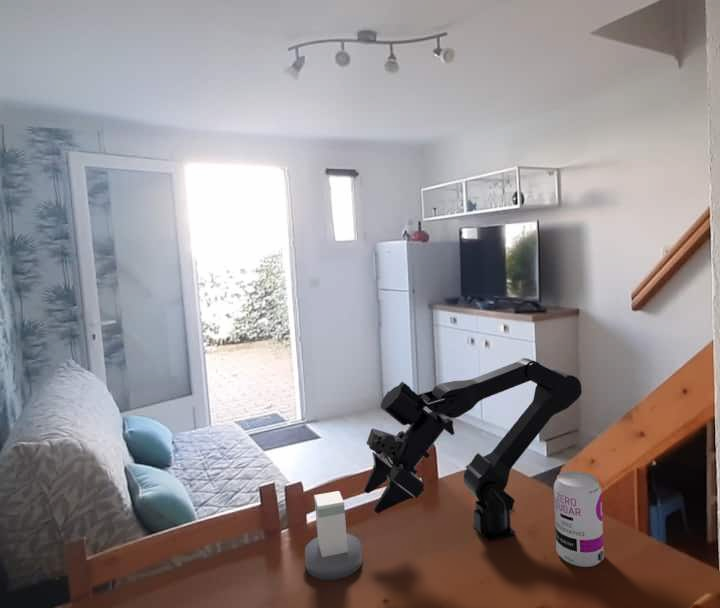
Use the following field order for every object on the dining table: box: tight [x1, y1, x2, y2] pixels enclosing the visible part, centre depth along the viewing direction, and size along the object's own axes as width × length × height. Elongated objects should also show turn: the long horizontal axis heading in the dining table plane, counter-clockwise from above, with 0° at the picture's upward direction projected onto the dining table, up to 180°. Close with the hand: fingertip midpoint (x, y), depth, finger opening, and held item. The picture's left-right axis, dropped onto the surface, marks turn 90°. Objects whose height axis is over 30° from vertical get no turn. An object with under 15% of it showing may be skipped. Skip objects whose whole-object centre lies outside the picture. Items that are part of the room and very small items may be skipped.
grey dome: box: [304, 533, 363, 581], centre depth 100 cm, size 11×11×3 cm
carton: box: [313, 490, 348, 557], centre depth 99 cm, size 5×5×10 cm
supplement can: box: [553, 471, 605, 568], centre depth 96 cm, size 8×8×15 cm
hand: (370, 501), depth 101 cm, fingers open, 9 cm apart
